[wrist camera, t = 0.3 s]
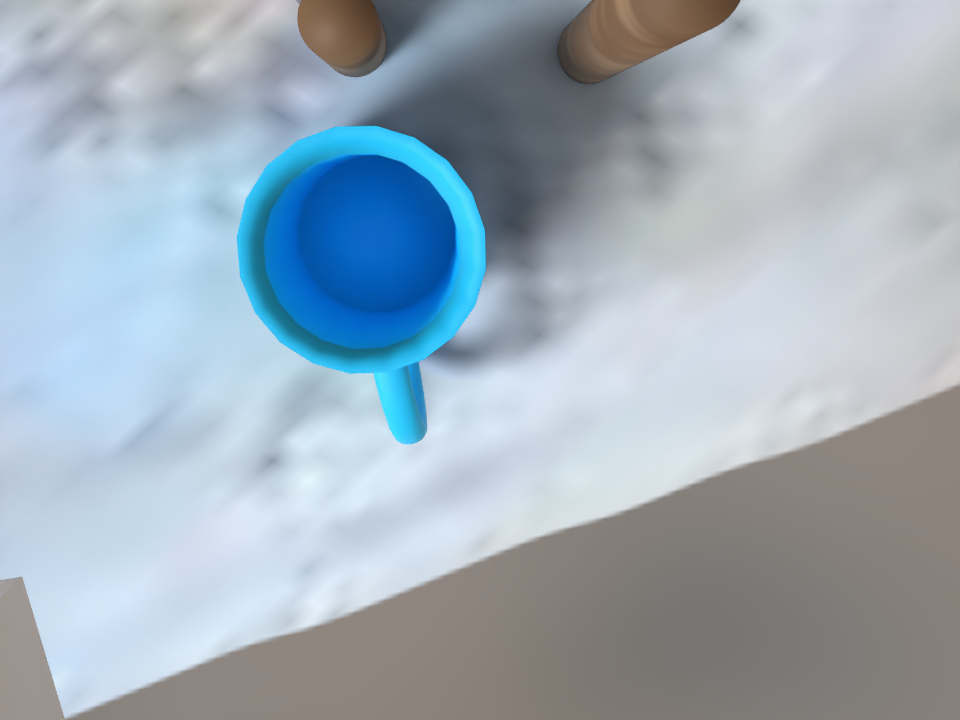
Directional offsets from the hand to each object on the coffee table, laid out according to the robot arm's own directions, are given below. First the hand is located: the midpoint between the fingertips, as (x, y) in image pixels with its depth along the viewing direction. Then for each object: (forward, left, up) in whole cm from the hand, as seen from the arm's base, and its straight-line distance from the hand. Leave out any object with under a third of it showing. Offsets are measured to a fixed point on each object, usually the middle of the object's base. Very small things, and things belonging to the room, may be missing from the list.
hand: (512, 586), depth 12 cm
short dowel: (-11, +1, -26) cm, 29 cm away
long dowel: (-6, +9, -26) cm, 29 cm away
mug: (-2, -2, -27) cm, 27 cm away
